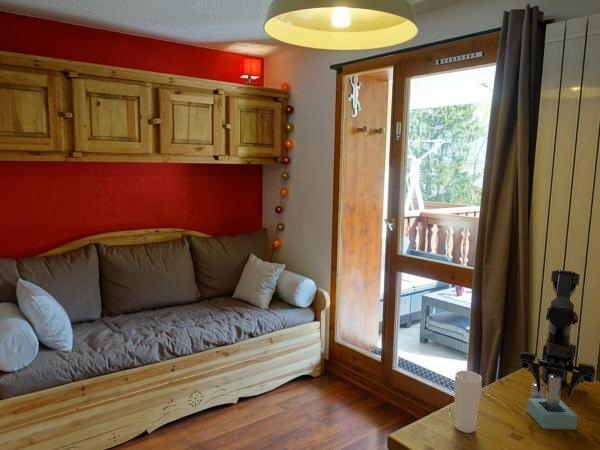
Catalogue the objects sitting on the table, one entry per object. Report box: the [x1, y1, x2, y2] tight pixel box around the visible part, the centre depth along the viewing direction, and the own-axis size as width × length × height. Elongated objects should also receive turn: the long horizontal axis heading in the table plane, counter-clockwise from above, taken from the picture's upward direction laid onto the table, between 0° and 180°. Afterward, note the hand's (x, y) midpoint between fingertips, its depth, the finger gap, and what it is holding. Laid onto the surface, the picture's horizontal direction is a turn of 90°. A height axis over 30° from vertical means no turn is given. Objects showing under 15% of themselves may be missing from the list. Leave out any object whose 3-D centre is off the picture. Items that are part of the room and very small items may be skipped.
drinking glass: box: [453, 370, 483, 434], centre depth 127 cm, size 7×7×15 cm
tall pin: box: [545, 374, 562, 412], centre depth 132 cm, size 3×3×13 cm
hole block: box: [526, 398, 578, 430], centre depth 132 cm, size 9×9×4 cm
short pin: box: [529, 381, 545, 399], centre depth 144 cm, size 3×3×4 cm
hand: (553, 395), depth 130 cm, fingers open, 7 cm apart
